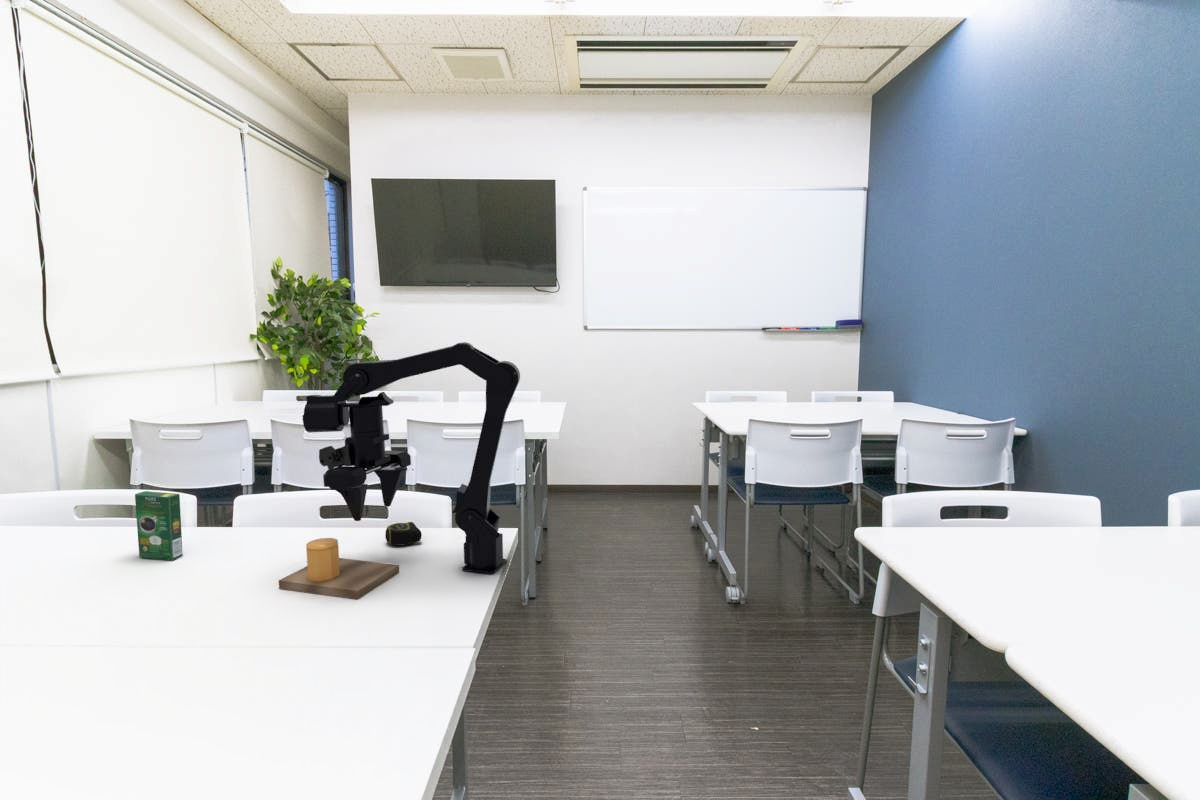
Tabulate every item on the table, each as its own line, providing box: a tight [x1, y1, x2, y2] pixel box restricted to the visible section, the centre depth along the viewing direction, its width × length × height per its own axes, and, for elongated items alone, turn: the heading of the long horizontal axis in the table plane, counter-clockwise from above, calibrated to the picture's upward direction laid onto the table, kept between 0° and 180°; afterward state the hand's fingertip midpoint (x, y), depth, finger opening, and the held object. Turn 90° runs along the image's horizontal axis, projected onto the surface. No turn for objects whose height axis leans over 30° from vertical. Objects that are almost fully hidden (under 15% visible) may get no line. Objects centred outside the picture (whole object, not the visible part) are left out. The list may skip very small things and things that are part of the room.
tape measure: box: [384, 521, 423, 546], centre depth 132 cm, size 7×7×4 cm
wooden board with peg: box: [278, 557, 400, 600], centre depth 111 cm, size 16×12×6 cm
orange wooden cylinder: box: [305, 537, 340, 581], centre depth 110 cm, size 5×5×6 cm
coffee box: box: [134, 490, 184, 561], centre depth 122 cm, size 8×3×13 cm, turn 79°
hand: (373, 513), depth 115 cm, fingers open, 9 cm apart
